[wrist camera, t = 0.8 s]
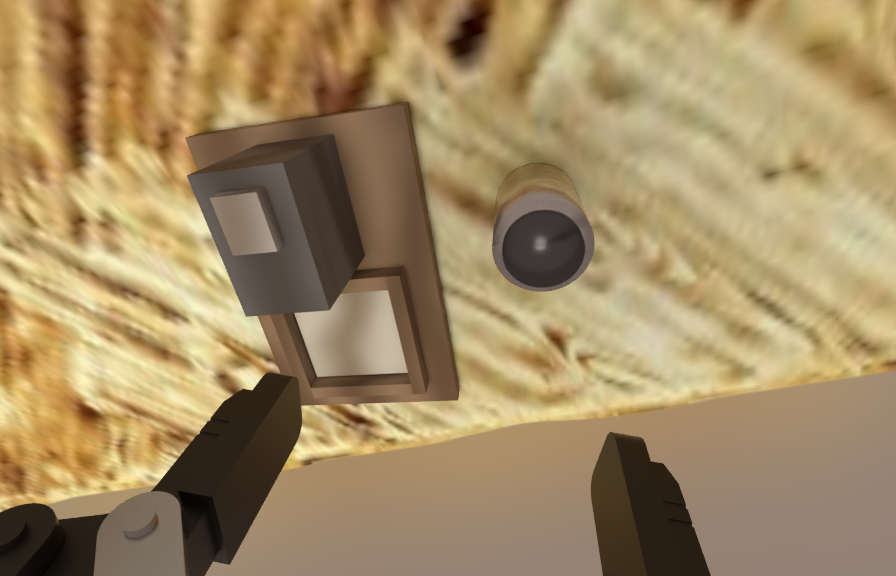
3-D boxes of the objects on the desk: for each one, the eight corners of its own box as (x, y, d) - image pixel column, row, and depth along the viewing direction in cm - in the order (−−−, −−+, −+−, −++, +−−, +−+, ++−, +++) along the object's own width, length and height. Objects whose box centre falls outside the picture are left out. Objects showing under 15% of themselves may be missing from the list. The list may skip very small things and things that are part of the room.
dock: (407, 101, 27) (365, 130, 19) (459, 389, 37) (446, 484, 29) (196, 134, 29) (83, 170, 22) (299, 395, 40) (248, 485, 32)
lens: (575, 158, 27) (595, 197, 21) (577, 235, 30) (596, 292, 23) (492, 168, 28) (486, 208, 22) (499, 242, 31) (497, 299, 24)
